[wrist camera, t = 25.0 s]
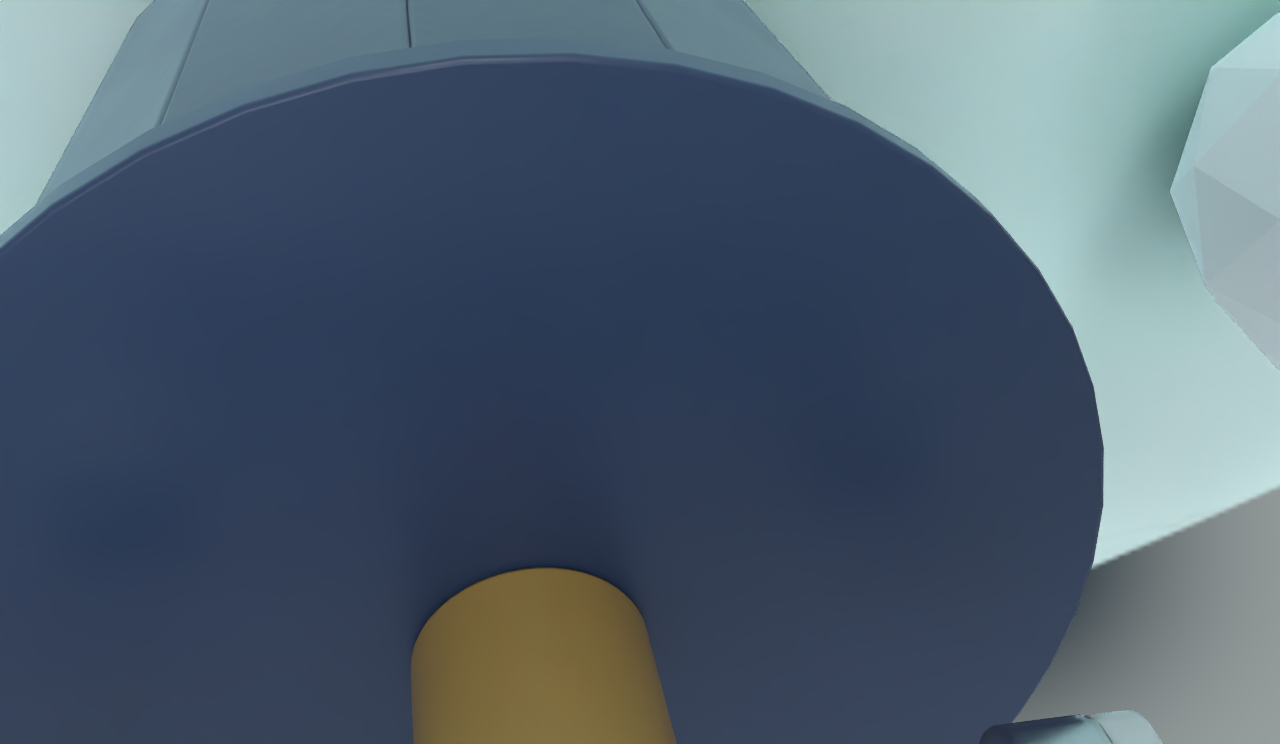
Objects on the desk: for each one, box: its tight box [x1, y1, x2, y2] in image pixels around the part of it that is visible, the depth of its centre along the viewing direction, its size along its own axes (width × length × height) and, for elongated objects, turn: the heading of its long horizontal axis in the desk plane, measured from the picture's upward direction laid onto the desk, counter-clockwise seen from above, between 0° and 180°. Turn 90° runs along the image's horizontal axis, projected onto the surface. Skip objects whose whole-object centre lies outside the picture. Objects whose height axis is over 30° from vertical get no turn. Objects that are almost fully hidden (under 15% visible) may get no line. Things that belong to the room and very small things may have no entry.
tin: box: [35, 0, 831, 206], centre depth 18 cm, size 12×12×10 cm
